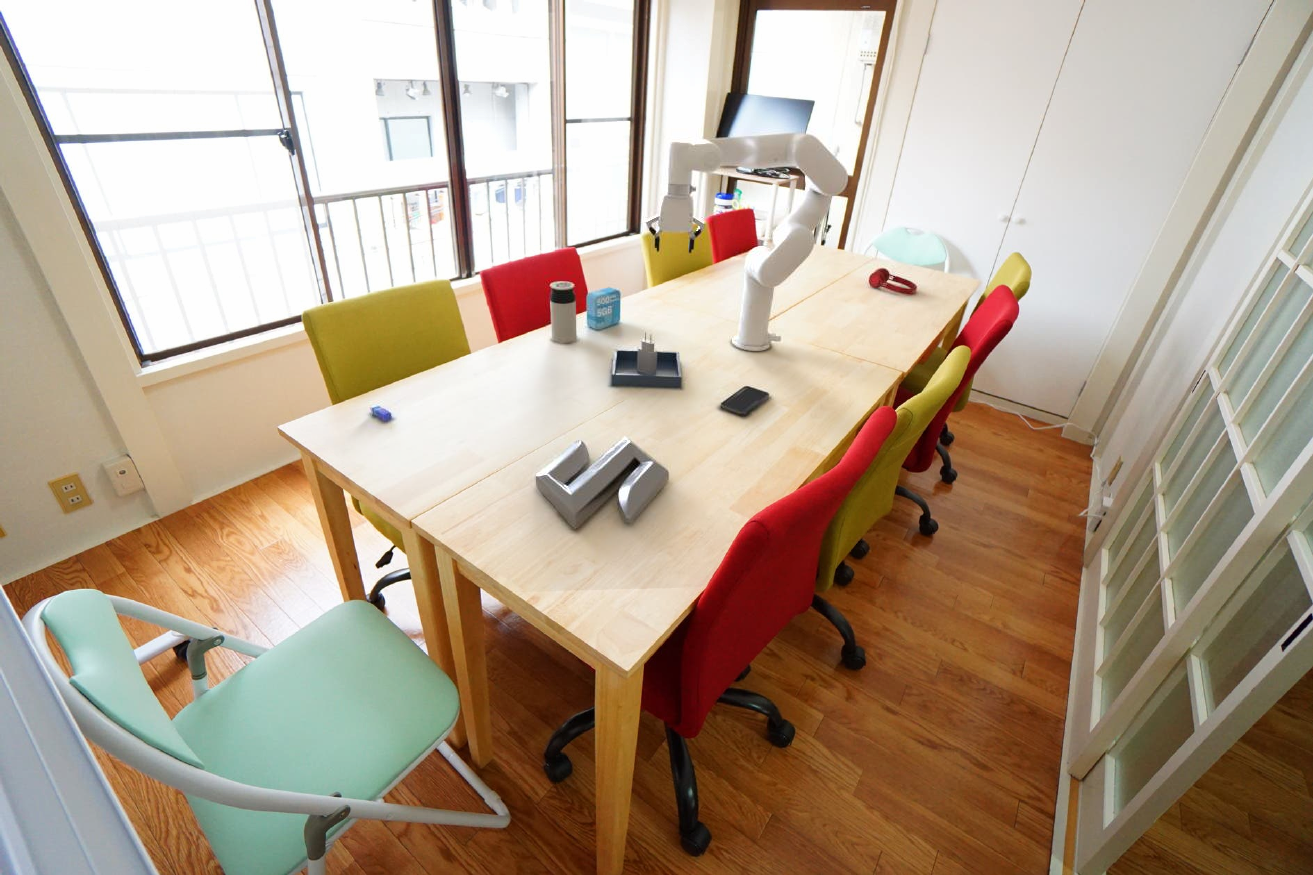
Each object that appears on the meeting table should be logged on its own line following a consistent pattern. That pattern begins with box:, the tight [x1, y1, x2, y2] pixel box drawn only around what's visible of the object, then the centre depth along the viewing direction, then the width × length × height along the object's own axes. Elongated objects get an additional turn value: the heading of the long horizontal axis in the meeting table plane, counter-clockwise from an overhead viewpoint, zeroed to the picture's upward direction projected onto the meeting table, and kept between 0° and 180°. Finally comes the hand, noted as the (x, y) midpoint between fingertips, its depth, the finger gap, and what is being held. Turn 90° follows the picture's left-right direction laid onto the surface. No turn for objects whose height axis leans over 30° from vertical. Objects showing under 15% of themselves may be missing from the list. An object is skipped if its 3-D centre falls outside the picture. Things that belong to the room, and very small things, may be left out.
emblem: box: [535, 436, 670, 530], centre depth 121 cm, size 28×5×28 cm
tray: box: [610, 348, 683, 389], centre depth 169 cm, size 20×18×4 cm
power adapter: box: [637, 332, 658, 375], centre depth 167 cm, size 3×5×12 cm, turn 55°
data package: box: [586, 286, 621, 331], centre depth 199 cm, size 12×4×12 cm, turn 138°
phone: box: [719, 385, 770, 417], centre depth 157 cm, size 8×1×15 cm
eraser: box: [369, 404, 393, 422], centre depth 142 cm, size 2×6×2 cm, turn 53°
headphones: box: [868, 267, 918, 295], centre depth 255 cm, size 15×7×20 cm
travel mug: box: [549, 280, 577, 344], centre depth 185 cm, size 8×8×18 cm
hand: (673, 251), depth 173 cm, fingers open, 9 cm apart
